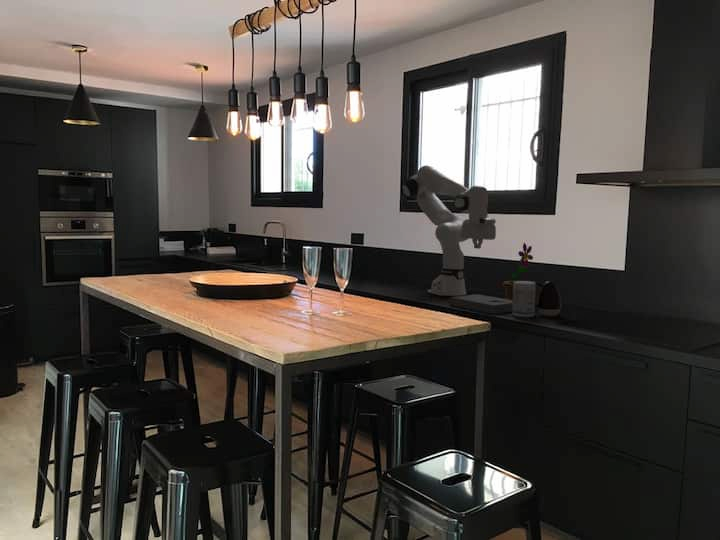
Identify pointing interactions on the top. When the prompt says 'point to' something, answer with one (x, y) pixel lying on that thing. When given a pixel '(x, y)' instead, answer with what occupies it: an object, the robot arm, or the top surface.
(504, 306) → the board
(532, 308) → the supplement tub
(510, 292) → the flowerpot
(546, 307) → the dark brown egg shape
